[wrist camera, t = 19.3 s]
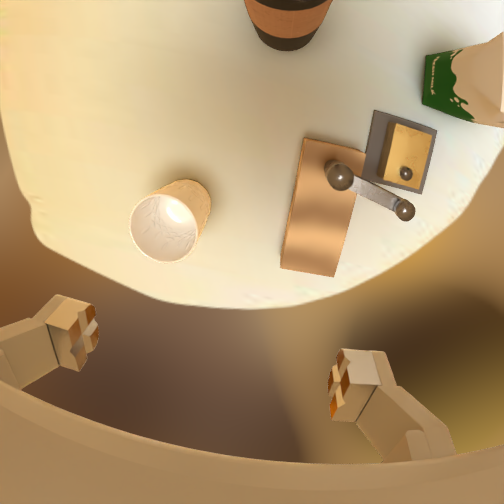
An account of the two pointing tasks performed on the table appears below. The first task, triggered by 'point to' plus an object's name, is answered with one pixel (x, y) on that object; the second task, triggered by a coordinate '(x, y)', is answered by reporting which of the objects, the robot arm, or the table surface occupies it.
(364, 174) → the rubber mat
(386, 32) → the table surface
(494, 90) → the milk carton
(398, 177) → the gold block with knob
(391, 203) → the lever
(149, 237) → the white cup
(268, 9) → the travel mug
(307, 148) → the plane body
